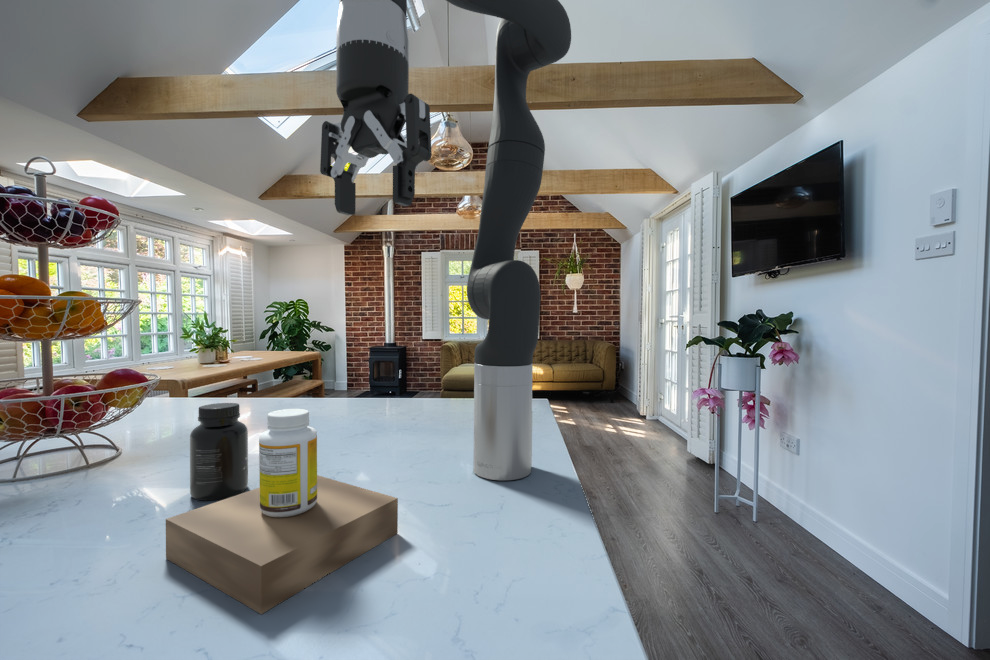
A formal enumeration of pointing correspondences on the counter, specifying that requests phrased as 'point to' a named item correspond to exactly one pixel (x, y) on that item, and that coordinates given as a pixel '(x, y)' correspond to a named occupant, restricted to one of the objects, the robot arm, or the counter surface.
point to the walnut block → (278, 541)
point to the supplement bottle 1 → (218, 453)
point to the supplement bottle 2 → (288, 464)
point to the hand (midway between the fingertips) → (372, 209)
